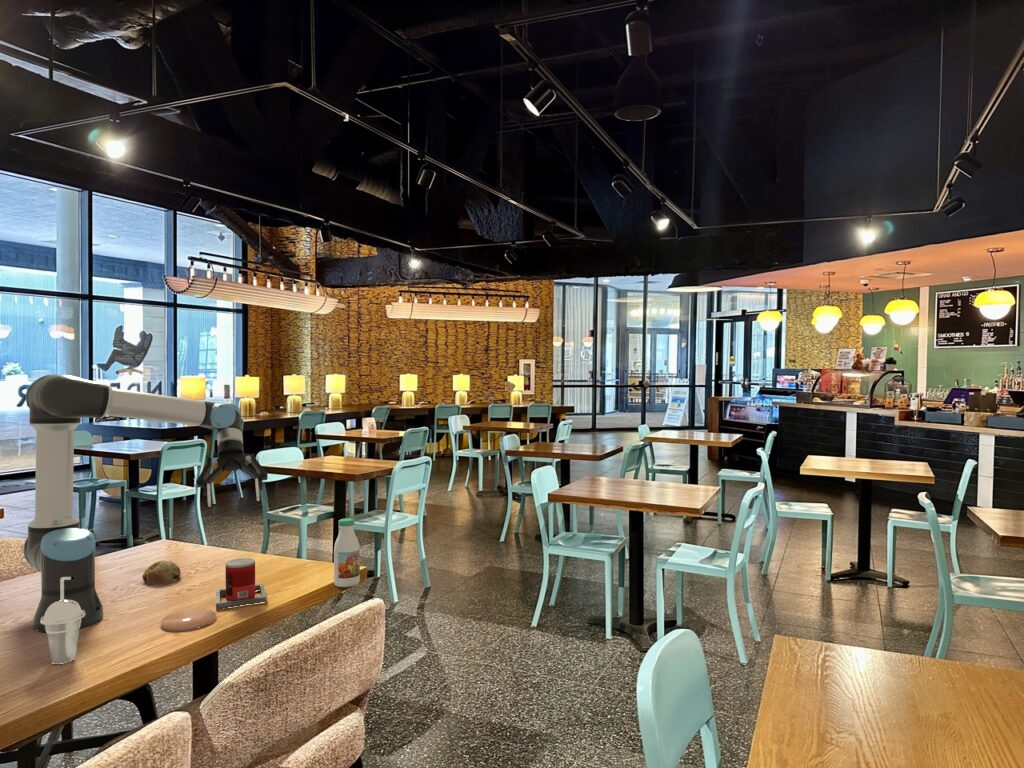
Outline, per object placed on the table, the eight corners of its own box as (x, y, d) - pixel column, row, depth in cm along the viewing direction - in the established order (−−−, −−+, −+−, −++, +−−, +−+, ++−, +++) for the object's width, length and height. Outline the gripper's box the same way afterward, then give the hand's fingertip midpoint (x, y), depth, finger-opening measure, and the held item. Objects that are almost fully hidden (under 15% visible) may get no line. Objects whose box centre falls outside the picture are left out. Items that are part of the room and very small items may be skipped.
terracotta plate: (180, 635, 164) (180, 631, 164) (149, 624, 171) (149, 621, 171) (226, 618, 175) (226, 614, 175) (196, 609, 182) (196, 606, 182)
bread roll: (162, 597, 203) (173, 574, 203) (133, 583, 203) (143, 559, 203) (179, 587, 213) (190, 564, 213) (151, 573, 213) (161, 551, 213)
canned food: (261, 596, 193) (260, 558, 192) (242, 605, 185) (242, 566, 185) (238, 594, 195) (238, 556, 195) (219, 603, 187) (219, 564, 187)
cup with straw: (87, 650, 155) (86, 565, 155) (83, 665, 147) (83, 575, 147) (43, 657, 151) (42, 570, 151) (37, 673, 143) (36, 581, 143)
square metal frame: (266, 603, 187) (266, 597, 187) (215, 610, 181) (215, 603, 181) (263, 589, 198) (263, 583, 198) (215, 595, 193) (215, 589, 193)
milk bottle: (329, 586, 201) (329, 521, 201) (341, 579, 209) (341, 516, 208) (352, 588, 199) (352, 522, 199) (364, 581, 207) (363, 517, 207)
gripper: (271, 448, 219) (277, 502, 207) (188, 456, 209) (189, 513, 197) (271, 434, 214) (278, 489, 201) (186, 442, 204) (187, 499, 191)
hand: (234, 501), depth 199 cm, fingers open, 13 cm apart
